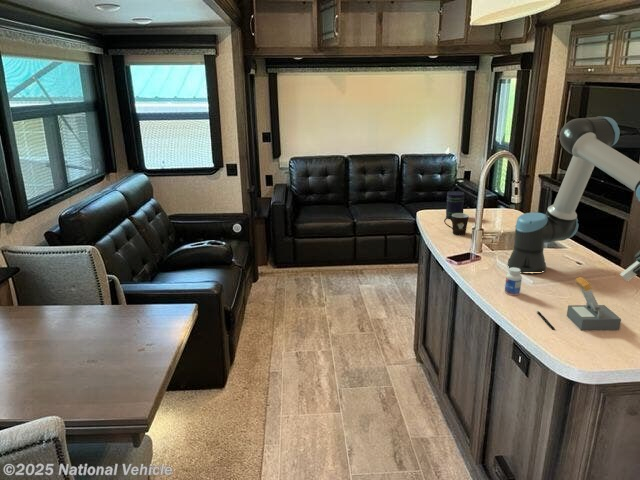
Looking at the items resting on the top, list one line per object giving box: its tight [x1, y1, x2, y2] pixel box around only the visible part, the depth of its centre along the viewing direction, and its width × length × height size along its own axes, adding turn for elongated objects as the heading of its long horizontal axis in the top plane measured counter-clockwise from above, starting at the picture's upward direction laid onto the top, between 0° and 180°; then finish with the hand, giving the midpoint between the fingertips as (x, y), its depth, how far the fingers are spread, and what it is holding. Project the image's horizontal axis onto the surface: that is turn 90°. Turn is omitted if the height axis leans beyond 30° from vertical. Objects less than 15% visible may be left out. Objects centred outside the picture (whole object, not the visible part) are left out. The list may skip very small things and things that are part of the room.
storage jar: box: [445, 190, 465, 219], centre depth 275 cm, size 10×10×15 cm
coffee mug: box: [444, 212, 470, 236], centre depth 248 cm, size 12×9×10 cm
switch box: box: [566, 302, 622, 332], centre depth 154 cm, size 12×10×6 cm
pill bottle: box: [504, 267, 523, 296], centre depth 177 cm, size 6×5×10 cm
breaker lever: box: [574, 276, 601, 314], centre depth 152 cm, size 2×6×12 cm
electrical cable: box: [536, 310, 556, 331], centre depth 158 cm, size 12×1×1 cm, turn 179°
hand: (623, 278), depth 150 cm, fingers closed
